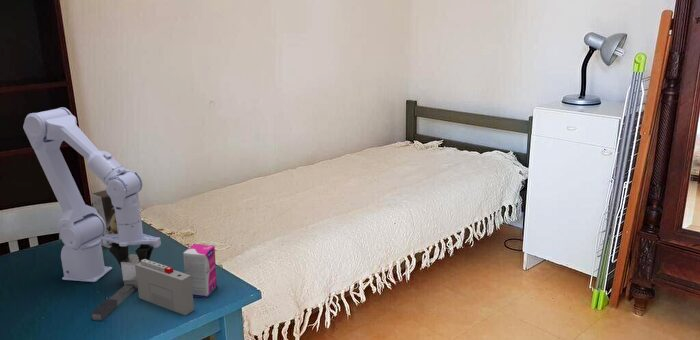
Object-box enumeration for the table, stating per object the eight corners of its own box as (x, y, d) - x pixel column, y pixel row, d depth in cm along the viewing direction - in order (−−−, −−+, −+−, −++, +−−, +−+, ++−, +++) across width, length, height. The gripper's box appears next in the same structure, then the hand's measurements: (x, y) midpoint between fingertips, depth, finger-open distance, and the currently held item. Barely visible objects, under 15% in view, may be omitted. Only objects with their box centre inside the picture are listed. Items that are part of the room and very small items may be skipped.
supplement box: (208, 298, 132) (204, 254, 129) (185, 295, 133) (181, 252, 130) (218, 286, 137) (214, 245, 134) (196, 284, 138) (192, 243, 135)
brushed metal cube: (123, 280, 137) (120, 261, 135) (133, 272, 141) (130, 254, 139) (140, 281, 136) (137, 263, 134) (149, 273, 140) (147, 255, 139)
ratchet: (132, 278, 142) (130, 263, 141) (153, 279, 141) (152, 264, 140) (85, 319, 123) (82, 302, 122) (109, 321, 122) (107, 304, 121)
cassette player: (194, 310, 127) (190, 271, 124) (185, 315, 124) (181, 276, 122) (148, 293, 134) (143, 256, 131) (139, 298, 132) (134, 260, 129)
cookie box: (110, 249, 159) (103, 197, 155) (97, 244, 163) (90, 193, 158) (137, 238, 167) (131, 188, 162) (124, 234, 170) (117, 185, 165)
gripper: (92, 225, 131) (99, 276, 135) (148, 228, 129) (154, 280, 133) (108, 214, 138) (115, 263, 142) (162, 217, 136) (167, 267, 140)
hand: (135, 270), depth 138 cm, fingers closed on brushed metal cube, 5 cm apart
